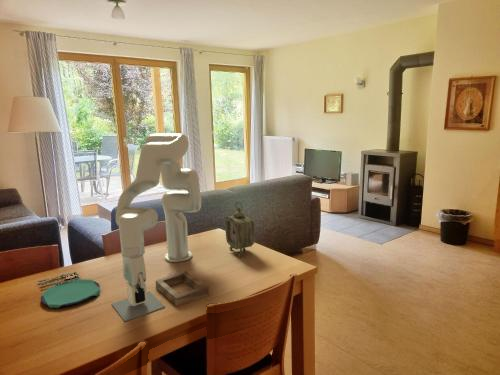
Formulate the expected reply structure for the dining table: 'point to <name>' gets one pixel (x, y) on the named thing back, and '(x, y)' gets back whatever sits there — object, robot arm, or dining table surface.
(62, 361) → the dining table surface
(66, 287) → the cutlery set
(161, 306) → the rubber mat
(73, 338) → the dining table surface
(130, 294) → the cream block
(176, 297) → the pocket block
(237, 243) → the grey lantern
